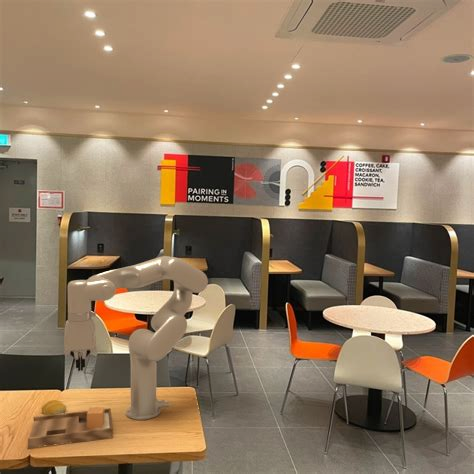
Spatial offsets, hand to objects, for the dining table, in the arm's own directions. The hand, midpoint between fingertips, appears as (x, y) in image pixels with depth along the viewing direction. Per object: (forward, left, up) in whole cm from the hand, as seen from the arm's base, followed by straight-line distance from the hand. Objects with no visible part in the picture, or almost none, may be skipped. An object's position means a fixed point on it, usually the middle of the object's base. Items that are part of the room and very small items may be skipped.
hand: (80, 369), depth 160 cm
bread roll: (+10, -19, -22) cm, 30 cm away
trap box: (+3, 0, -21) cm, 22 cm away
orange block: (-5, +1, -19) cm, 20 cm away
